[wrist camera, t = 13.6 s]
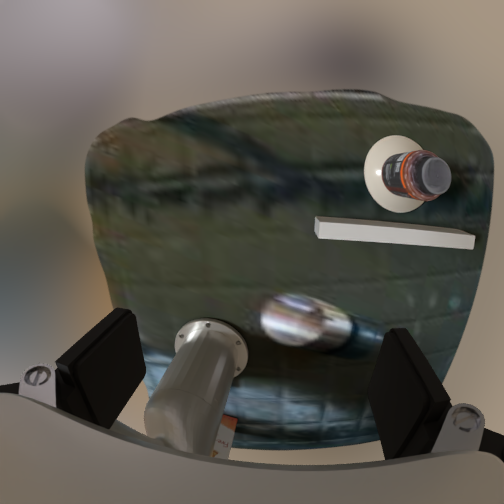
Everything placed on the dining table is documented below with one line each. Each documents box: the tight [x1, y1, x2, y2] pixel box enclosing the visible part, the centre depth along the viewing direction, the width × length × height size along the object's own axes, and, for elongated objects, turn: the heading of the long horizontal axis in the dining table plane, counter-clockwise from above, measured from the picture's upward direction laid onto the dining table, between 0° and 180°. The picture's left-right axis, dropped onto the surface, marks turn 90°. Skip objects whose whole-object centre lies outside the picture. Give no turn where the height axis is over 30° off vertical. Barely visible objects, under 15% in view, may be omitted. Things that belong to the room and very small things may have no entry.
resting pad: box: [364, 136, 424, 213], centre depth 34 cm, size 11×11×1 cm
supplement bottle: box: [381, 150, 451, 201], centre depth 29 cm, size 6×6×11 cm
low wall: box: [315, 216, 475, 249], centre depth 34 cm, size 2×24×5 cm, turn 89°
